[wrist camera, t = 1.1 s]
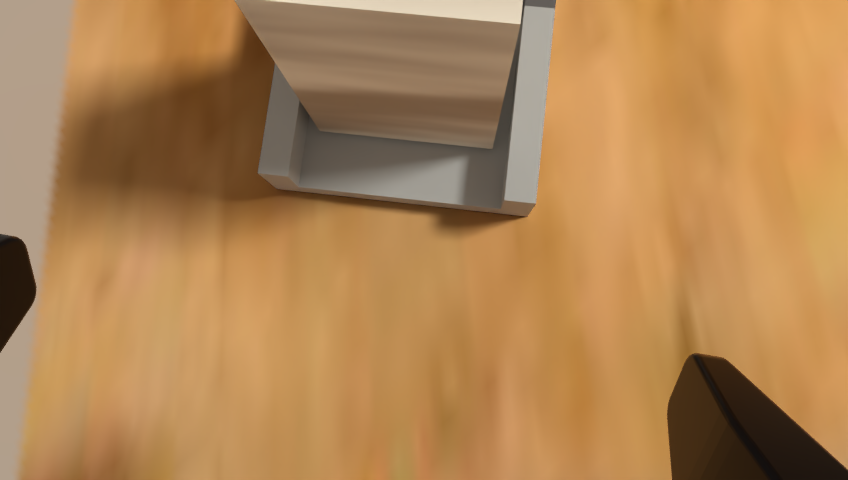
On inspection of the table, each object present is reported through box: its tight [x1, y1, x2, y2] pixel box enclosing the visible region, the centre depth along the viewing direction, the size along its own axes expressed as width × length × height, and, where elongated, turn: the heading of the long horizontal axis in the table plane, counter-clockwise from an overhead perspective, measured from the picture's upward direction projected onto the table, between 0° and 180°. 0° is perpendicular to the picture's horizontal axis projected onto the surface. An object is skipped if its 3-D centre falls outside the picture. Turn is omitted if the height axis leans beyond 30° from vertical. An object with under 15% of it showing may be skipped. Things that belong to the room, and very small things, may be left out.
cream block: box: [235, 0, 523, 149], centre depth 18 cm, size 4×6×9 cm, turn 83°
